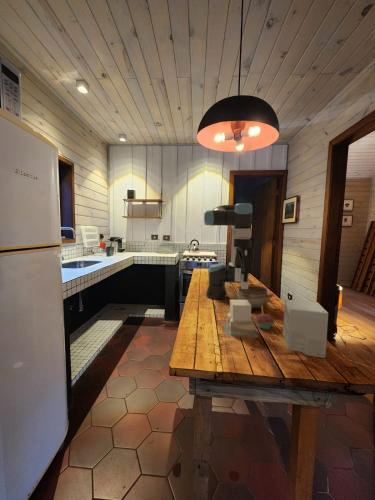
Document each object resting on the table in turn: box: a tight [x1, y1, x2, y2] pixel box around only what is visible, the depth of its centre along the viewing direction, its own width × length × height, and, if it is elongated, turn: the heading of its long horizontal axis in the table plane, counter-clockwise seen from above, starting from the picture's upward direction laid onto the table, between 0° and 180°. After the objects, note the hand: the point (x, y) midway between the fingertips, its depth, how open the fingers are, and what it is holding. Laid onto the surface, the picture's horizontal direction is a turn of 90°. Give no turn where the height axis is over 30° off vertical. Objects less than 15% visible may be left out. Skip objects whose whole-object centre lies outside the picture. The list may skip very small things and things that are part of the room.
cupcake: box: [255, 306, 275, 330], centre depth 104 cm, size 9×8×12 cm
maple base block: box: [226, 312, 255, 335], centre depth 101 cm, size 10×10×6 cm
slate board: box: [222, 322, 260, 338], centre depth 101 cm, size 14×14×1 cm
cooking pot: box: [231, 284, 274, 311], centre depth 133 cm, size 25×19×12 cm
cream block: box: [229, 299, 252, 321], centre depth 100 cm, size 8×8×7 cm
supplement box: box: [282, 299, 329, 359], centre depth 88 cm, size 13×13×18 cm
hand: (240, 284), depth 99 cm, fingers open, 13 cm apart
